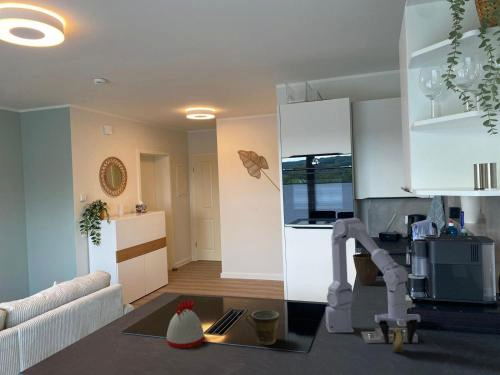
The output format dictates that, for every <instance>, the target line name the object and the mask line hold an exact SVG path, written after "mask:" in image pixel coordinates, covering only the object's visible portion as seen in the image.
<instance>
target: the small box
mask: <svg viewBox="0 0 500 375" xmlns="http://www.w3.org/2000/svg"><path fill="white" fill-rule="evenodd" d="M411 307H413V308H414V306H413V300H412V298H411V297H410V295H409V294H406V314H407V309H408V308H411ZM396 324H397V326H398V327H404V328H407V327H406V326H407V325H406V321H404V322H396Z"/></svg>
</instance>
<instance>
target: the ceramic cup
mask: <svg viewBox="0 0 500 375" xmlns="http://www.w3.org/2000/svg"><path fill="white" fill-rule="evenodd" d="M248 316H249V317H250V318H251V320H252V322H251V321H250V320H249V319H248ZM245 320H246V321H247V323H249V324H250V325H251V327H252V328H253V329H254V333H255V338H256V343H258V344H259V345H262V346H263V345H264V346H268V345H269V346H270V345H273V344H275V343H276V339H277V333H278V327H279V326H278V325H279V320H280V313H279V312H277V311H275V310H271V309H263V310H256V311H253V312H252V314H251V313H248V314H246V316H245Z"/></svg>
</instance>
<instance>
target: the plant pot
mask: <svg viewBox="0 0 500 375" xmlns="http://www.w3.org/2000/svg"><path fill="white" fill-rule="evenodd" d="M352 258H353V264H354V268H355V272H356V275H357V278H358V280H359V283H360V285H362V286H367V287H368V286H374V285H375V283H376V282H377V277H378V274H379V270H380V269H379V268H378V267H377V265H376V264H375V263H374V262H373V261H372V254H371V253H355V254H352Z"/></svg>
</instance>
